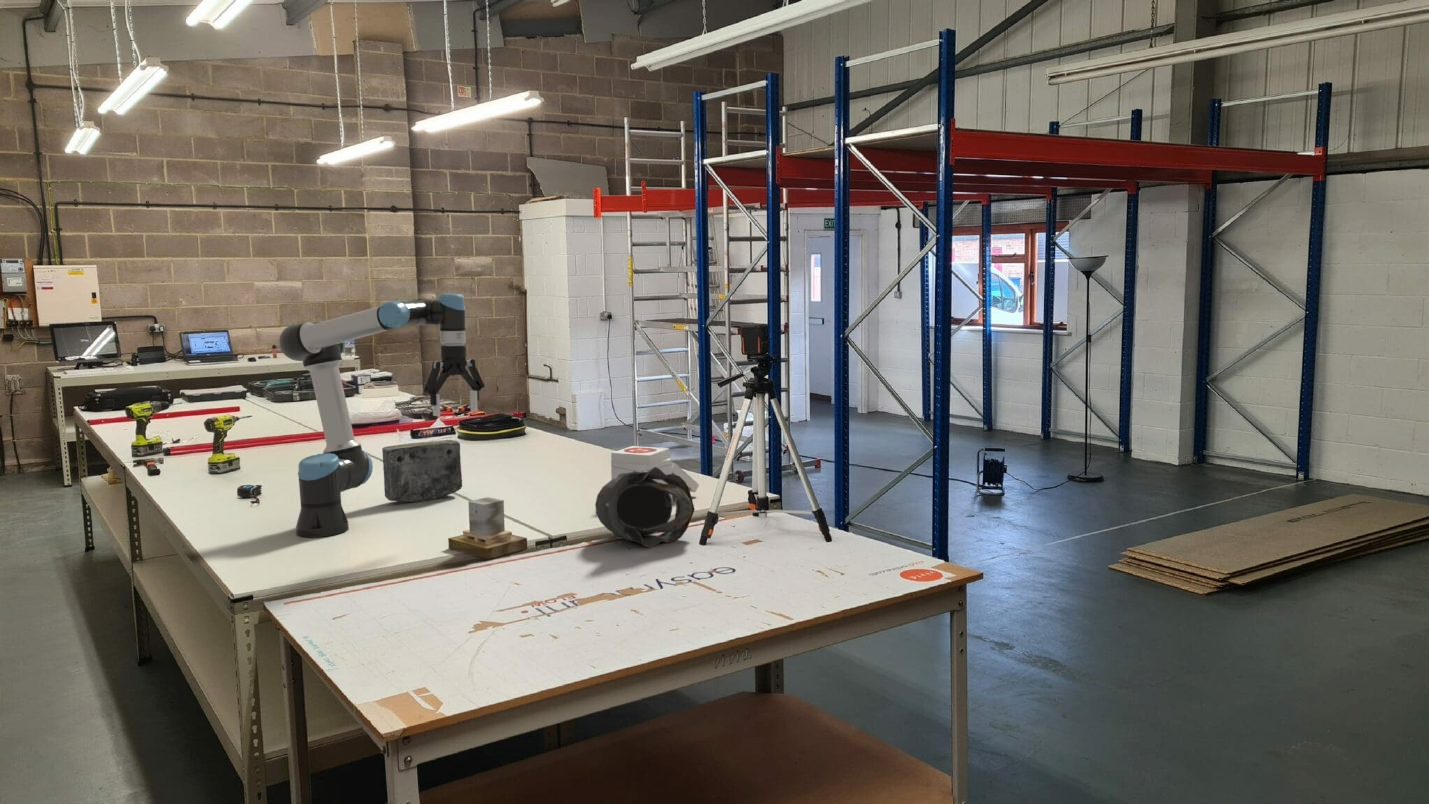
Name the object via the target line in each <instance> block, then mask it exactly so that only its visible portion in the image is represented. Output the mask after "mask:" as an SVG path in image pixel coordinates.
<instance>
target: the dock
mask: <svg viewBox="0 0 1429 804" xmlns="http://www.w3.org/2000/svg"><path fill="white" fill-rule="evenodd" d="M511 538H512V539H508V540H504V541H500V542H497V543H493V544H485V540H482V541H479V542H477V541H474V537H473V538H469V539H466V538H464V535H463V534H460V535H456V536H452V537H448V538H447V540H448V543H447V544H448V549H449V550H452V551H457V552H461V553H464V554H467V555H470V556H475V557H478V558H482V559H485V560H490V559H494V558H498V557H501V556H504V555H509V554H513V553H516V552H520V551H523V550H525V549H528V537H524V536H519V535H515V534H512V535H511Z"/></svg>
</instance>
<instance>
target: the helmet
mask: <svg viewBox="0 0 1429 804" xmlns="http://www.w3.org/2000/svg"><path fill="white" fill-rule="evenodd" d="M653 479H658V480H660V479H661V480H663V481H664V482H665V483H667V484H663V483H658V482H656V481H654V480H653ZM669 494H671V495H672V497H673V498H675V507H676V508H675V515H674V519H672V520H671V521H669V520H670V519H671V517H672V511H673V498H672V499H671V497H670V495H669ZM595 499H596V500H595V514H596V516H597V518H598V520H599V522H600V523H601V524H602V525H603V527H604V528H606V530H608V531H609V532H612V534H613V535H614V537H615V538H617V539H619V540H625V541H628V542H637V543H639V544H641V545H642V546H644V547H645V548H648V549H652V548H654V547H656V546H657V545H658V544H660V543H661V542H664V543H667V544H670V543H674V542H677V541H678V540H679V539H681V538H682V536H683V535H684V534H685V533H686V532H687V529H688V528H689V525H690V523H691V520H692V517H693V515H694V513H695V505H694V503H693V502H694V501H693V498H692V494H691V491H690V490H689V488H688V486H687V484H686V483H685V481H684V480H683V479H682V478H681V477H680V476H677V475H675V474H669V475H665V474H664V473H663V472H662V471H661V470H660V469H659V468H657V467H654V468H652V469H651V470H649V471H647V472H636V471H633V472H624V473H621V474H619V475H618V477H617V478H615V479H613V480H612V479H611V480H609V482H607V483H606V484H605V485H603V486H602V487H601V489H600V490H599V492H598V493H597V496H596V498H595ZM655 533H660V534H659V535H653V534H655Z"/></svg>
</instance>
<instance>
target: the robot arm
mask: <svg viewBox="0 0 1429 804" xmlns="http://www.w3.org/2000/svg"><path fill="white" fill-rule="evenodd" d="M465 306H466V303H465V296H464V295H463V294H461V293H441V294H439V296H438V299H437V300H430V299H429V300H427V299H426V300H424V299H421V300H420V299H412V300H393V301H388V302H384V303H383V304H382V305H380V306H376V307H371V308H367V309H364V310H360V311H357V312H353V313H350V314H346V315H343V316H339V317H335V318H331V319H327V320H324V321H316V322H310V321H308V322H304V323H294V324H291V325H289V326H286V328H284V329H283V330H282V332H281V334H280V335H279V339H278V343H279V348H280V351H281V352H282V354H283V355H284V356H285V357H287V358H288V359H290V360H293V361H295V362H302V364H303V365H302V366H303V368H304V369H305V370H307V371H309V373H310V376H311V377H310V378H311V381H312V387H313V389H314V394H315V399H316V403H317V407H318V412H319V417H320V422H321V426H322V430H323V431H322V432H323V435H324V439H325V444H326V446H325V448H324V449H323V451H322V453H317V454H313V455H309V456H307V457H305V458H302V459H301V460H300V461H299V462H298V471H297V476H298V477H297V478H298V485H299V486H298V487H299V500H300V511H299V513H298V518H297V521H296V526H295V533H296V536H299V537H303V538H319V537H320V538H321V537H322V538H323V537H330V536H335V535H339V534H342V533H345V532H347V531H349V520H348V518H347V516H346V513H345V511H344V509H343V506H342V498H341V497H342V495H341V493H342V492H345V491H347V490H350V489H355V488H358V487H361V485H364V484H366V482H367V481H368V480H369V479H370V477H371V476H372V473H373V468H374V465H373V464H374V463H373V461H372V458H371V456H370V455H369V454H367V452H366V451H365V450H363V448H362V445H361V443H360V442H358V441H357V440H356V439H355V436H354V431H353V430H354V429H353V426H352V423H351V422H352V421H351V417H350V412H349V409H348V404H347V399H346V395H345V390H344V386H343V381H342V377H341V373H340V368H339V367H340V366H341V364H342V362H343V359H342V354H343V353H344V349H345V348H346V342H349V341H354V340H357V339H361V338H365V337H368V336H371V335H375V334H379V333H384V332H387V331H391V330H396V329H399V328H402V327H403V328H404V327H411V326H412V327H415V326H431V325H432V326H435V325H436V326H439V337H440V338H439V339H440V340H439V341H440V342H439V343H440V344H442V345H441V346H440V356H441V361H433V362H432V364H431V365H432V367H431V368H432V369H431V371H430V373H429V375H428V379H427V382H426V384H425V386H424V389H423V392H424V393H425V394H428V395H429V399H430V401H429V402H430V405H431V406H432V416H433V417H434V416H435V417H441V401H440V400H441V398H440V394H438V393H439V391H440V390H441V388H442V386H443V385H444V383H445V382H446V381H447V379H448V378H450V376H461V377H462V379H464V381H465V382H466V383H467V384H468V385H469V387H470V388H471V390H469V398H470V399H469V402H470V403H469V404H470V406H469V407H470V412H473V413H474V412H478V411H479V410H478V409H479V408H478V407H479V405H478V401H479V400H480V391H481V390H482V389H484V388H485V384H484V381H483V379H482V377H481V375H480V372H479V370H478V368H477V366H476V359H473V358H472V359H471V358H468V359H467V358H466V357H467V345H465V344H466V343H467V338H466V337H467V336H466V335H467V334H466V307H465ZM466 366H467V368H468V370H467V368H466ZM440 371H441V372H440ZM469 372H470V374H469Z"/></svg>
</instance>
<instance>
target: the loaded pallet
mask: <svg viewBox="0 0 1429 804" xmlns="http://www.w3.org/2000/svg"><path fill="white" fill-rule="evenodd" d="M504 502H505V501H504V500H503V499H499V498H494V497H489V496H488V497H486V496H485V497H482V498H478V499H474V500H470V501H468V521H469V529H467V530H463V531H462V535H464V538H466V539H469V538H473V537H474V541H477V542H479V541H482V540H485V544H493V543H497V542H500V541H504V540H508V539H512V538H511V535H513V533H512V531H510V530H506V528H505V504H504Z"/></svg>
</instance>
